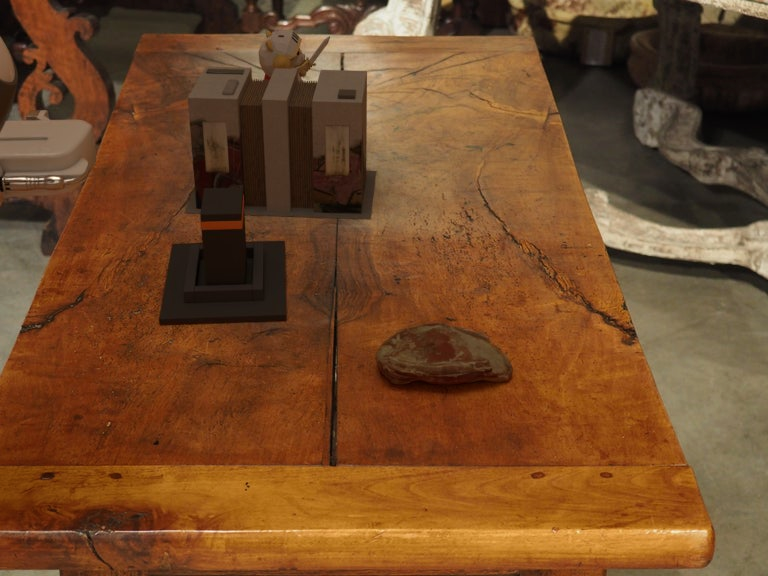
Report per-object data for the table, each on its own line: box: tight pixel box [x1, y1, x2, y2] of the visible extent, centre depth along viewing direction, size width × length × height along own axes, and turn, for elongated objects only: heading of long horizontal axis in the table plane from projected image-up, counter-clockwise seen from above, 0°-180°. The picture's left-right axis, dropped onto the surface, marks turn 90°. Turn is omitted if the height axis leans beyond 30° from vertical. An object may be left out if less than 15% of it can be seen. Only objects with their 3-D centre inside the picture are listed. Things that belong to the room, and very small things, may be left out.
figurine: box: [258, 29, 331, 83], centre depth 168 cm, size 13×11×15 cm
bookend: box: [183, 66, 377, 220], centre depth 145 cm, size 16×25×16 cm, turn 88°
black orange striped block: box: [199, 187, 247, 286], centre depth 124 cm, size 5×7×10 cm, turn 5°
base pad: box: [158, 240, 287, 326], centre depth 126 cm, size 14×18×2 cm
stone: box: [375, 321, 514, 386], centre depth 112 cm, size 13×10×3 cm
